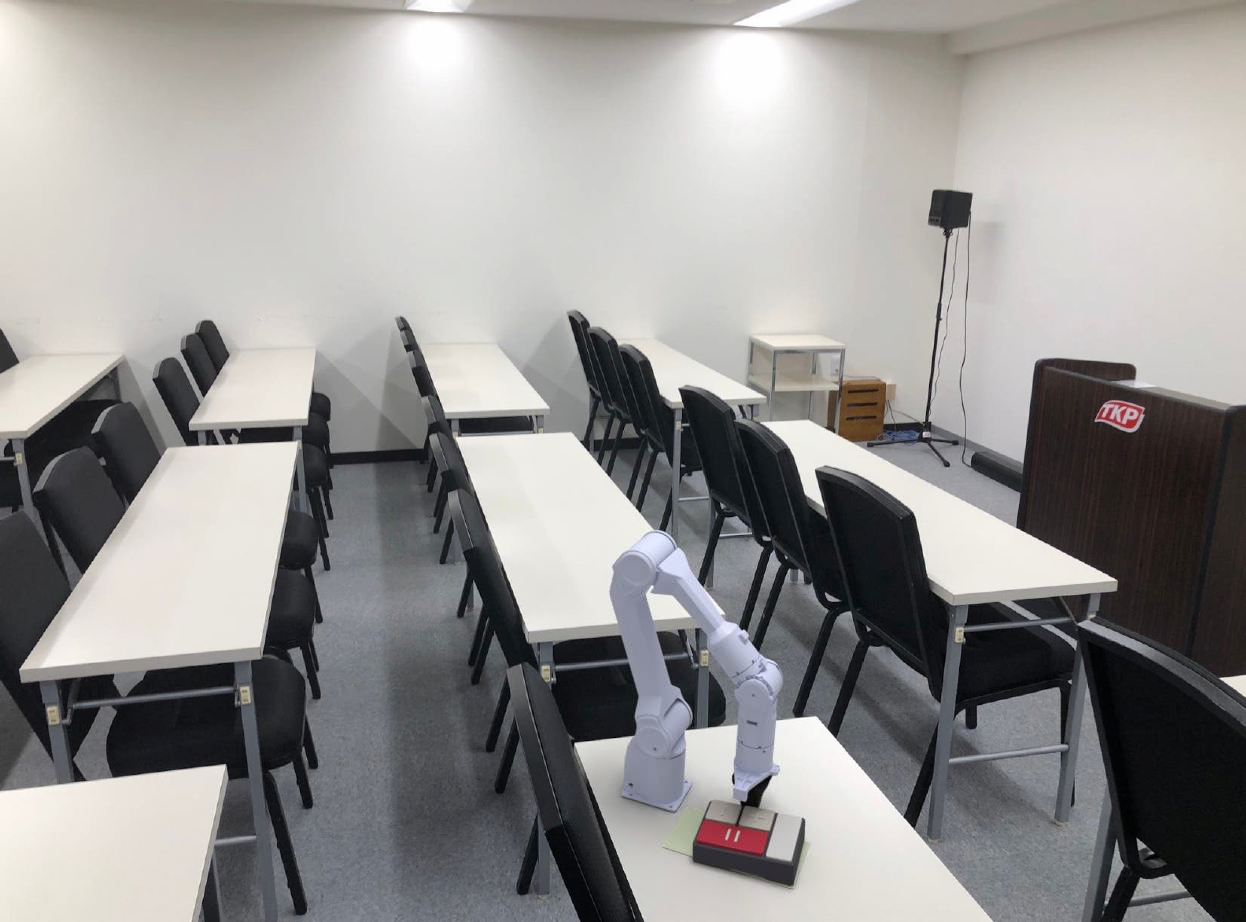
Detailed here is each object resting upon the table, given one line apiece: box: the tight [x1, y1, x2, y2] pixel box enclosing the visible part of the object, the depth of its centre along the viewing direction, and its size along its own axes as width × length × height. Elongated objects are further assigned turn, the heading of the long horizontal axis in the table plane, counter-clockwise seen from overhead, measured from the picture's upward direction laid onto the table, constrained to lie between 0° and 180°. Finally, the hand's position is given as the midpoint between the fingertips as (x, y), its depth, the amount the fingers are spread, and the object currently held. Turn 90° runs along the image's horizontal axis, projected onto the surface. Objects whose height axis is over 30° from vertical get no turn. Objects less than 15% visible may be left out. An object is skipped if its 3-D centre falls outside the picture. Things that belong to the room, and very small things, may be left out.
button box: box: [692, 799, 806, 885], centre depth 142 cm, size 11×4×15 cm
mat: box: [662, 805, 811, 890], centre depth 143 cm, size 20×10×1 cm, turn 66°
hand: (749, 812), depth 148 cm, fingers closed
